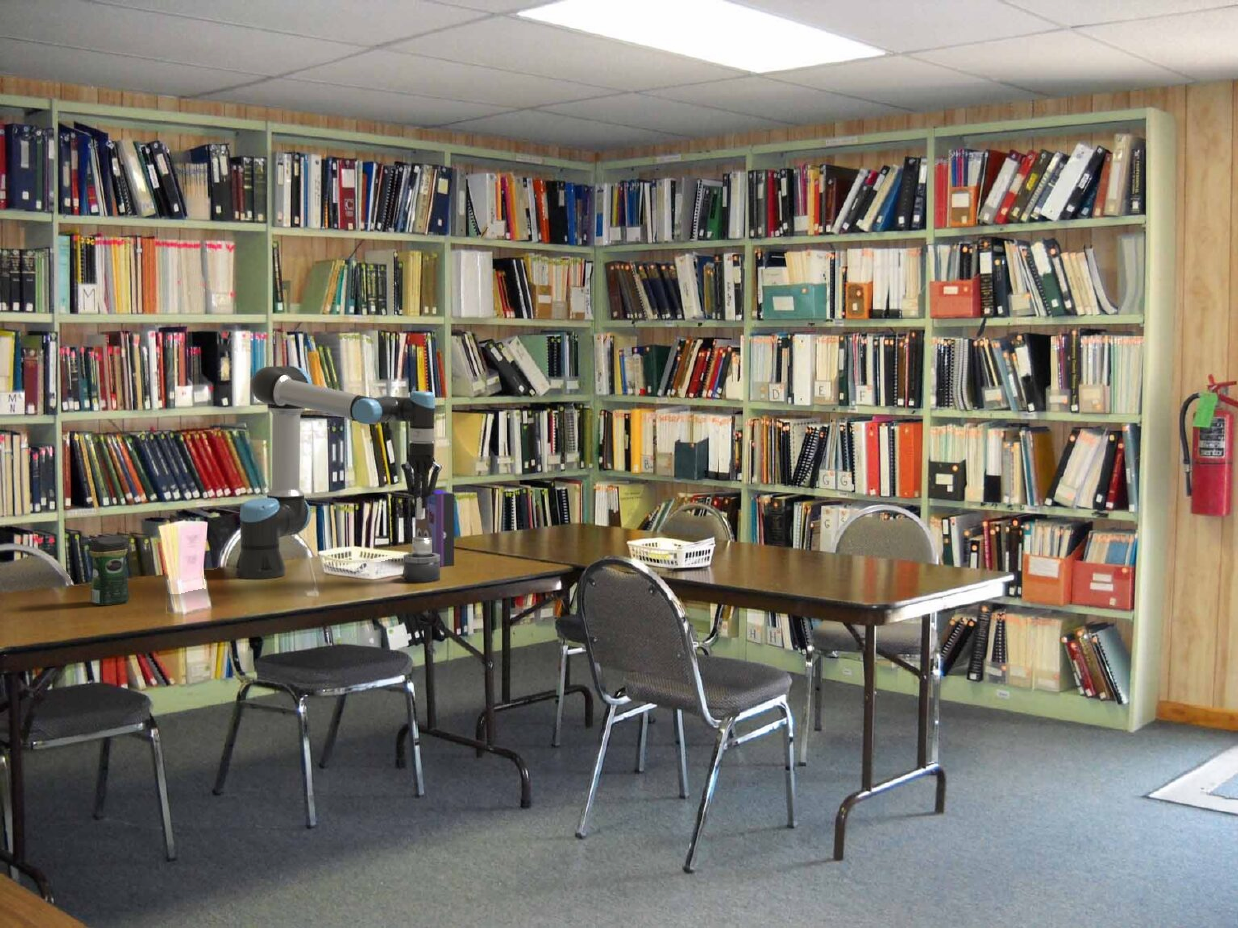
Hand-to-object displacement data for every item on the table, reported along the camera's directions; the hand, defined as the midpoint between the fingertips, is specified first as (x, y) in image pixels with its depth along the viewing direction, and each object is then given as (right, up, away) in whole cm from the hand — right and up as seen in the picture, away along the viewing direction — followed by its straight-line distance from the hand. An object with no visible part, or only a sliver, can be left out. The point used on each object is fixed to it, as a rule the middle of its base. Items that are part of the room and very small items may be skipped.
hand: (420, 518), depth 410 cm
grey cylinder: (0, -13, +1) cm, 13 cm away
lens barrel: (0, -19, +2) cm, 19 cm away
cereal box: (0, -16, +33) cm, 37 cm away
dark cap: (-4, -18, +9) cm, 21 cm away
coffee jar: (-80, -22, -40) cm, 92 cm away
